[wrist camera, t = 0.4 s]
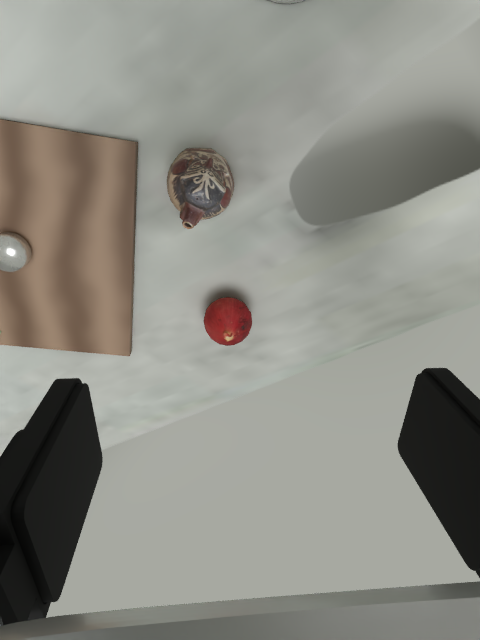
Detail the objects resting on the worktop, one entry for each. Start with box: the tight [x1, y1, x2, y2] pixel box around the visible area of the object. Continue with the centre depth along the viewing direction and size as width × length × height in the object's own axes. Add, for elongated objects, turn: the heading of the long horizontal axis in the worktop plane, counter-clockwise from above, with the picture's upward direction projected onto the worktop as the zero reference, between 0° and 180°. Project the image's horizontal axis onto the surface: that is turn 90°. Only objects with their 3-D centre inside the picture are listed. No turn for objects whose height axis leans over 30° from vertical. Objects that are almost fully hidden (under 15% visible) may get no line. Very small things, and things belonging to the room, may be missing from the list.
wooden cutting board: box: [0, 119, 138, 356], centre depth 42 cm, size 26×26×1 cm
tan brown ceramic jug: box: [167, 148, 234, 229], centre depth 36 cm, size 7×7×12 cm
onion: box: [204, 297, 252, 346], centre depth 45 cm, size 6×6×8 cm
